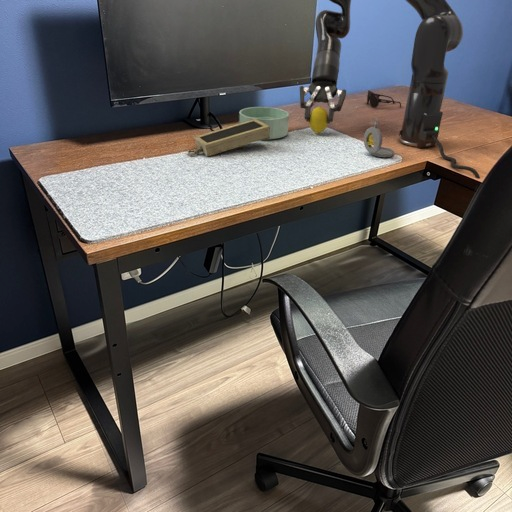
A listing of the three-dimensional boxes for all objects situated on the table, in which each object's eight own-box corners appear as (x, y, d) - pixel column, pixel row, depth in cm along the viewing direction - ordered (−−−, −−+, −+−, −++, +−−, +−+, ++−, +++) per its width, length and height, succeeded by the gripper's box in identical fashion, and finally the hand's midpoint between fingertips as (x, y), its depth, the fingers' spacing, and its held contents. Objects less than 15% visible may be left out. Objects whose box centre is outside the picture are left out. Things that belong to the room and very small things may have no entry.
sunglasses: (361, 101, 182) (365, 88, 180) (390, 105, 185) (394, 92, 183) (372, 108, 173) (376, 94, 171) (402, 113, 176) (406, 99, 174)
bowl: (296, 137, 140) (298, 116, 137) (253, 143, 134) (254, 121, 131) (271, 124, 151) (273, 105, 148) (230, 129, 145) (230, 109, 142)
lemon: (326, 131, 146) (329, 104, 142) (326, 137, 142) (329, 109, 138) (307, 130, 147) (310, 103, 143) (307, 135, 142) (310, 108, 138)
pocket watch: (396, 153, 131) (403, 116, 126) (387, 162, 125) (394, 123, 120) (367, 147, 134) (373, 111, 129) (356, 155, 128) (362, 117, 123)
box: (273, 143, 130) (271, 125, 127) (196, 168, 122) (192, 149, 119) (257, 135, 136) (255, 117, 133) (184, 158, 128) (180, 140, 125)
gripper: (301, 60, 142) (293, 112, 138) (351, 64, 140) (344, 116, 136) (302, 76, 149) (294, 125, 145) (349, 80, 147) (342, 130, 143)
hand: (318, 121), depth 141 cm, fingers closed on lemon, 5 cm apart
